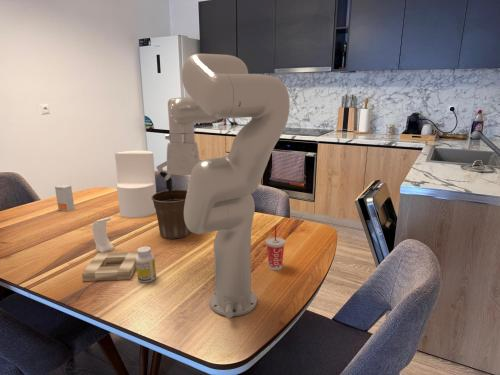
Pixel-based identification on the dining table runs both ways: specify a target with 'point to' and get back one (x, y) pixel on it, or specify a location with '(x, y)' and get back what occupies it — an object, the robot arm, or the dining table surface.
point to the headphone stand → (101, 235)
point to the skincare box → (64, 197)
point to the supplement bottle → (145, 264)
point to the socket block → (111, 266)
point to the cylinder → (135, 183)
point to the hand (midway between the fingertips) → (185, 190)
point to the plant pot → (171, 213)
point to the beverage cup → (275, 252)
